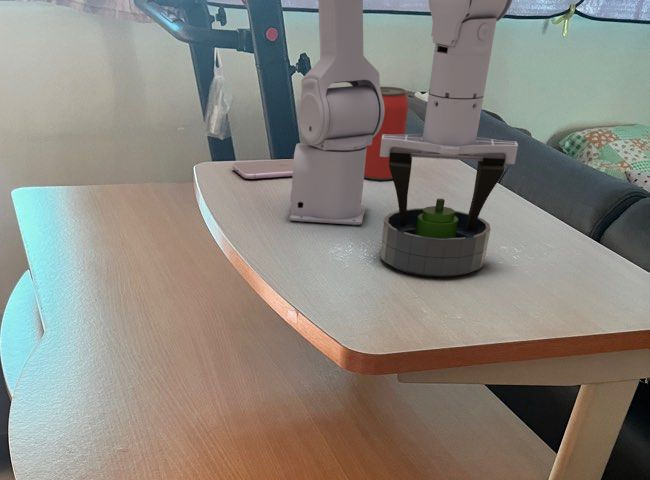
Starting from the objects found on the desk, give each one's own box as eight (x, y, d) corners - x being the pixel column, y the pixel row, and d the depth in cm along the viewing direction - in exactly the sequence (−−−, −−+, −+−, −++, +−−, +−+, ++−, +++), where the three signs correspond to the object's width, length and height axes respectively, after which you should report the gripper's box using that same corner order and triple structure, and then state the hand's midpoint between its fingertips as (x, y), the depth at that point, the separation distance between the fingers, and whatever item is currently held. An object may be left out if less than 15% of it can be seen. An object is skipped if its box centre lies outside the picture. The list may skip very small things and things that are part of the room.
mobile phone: (230, 161, 131) (318, 155, 135) (230, 168, 132) (317, 162, 135) (245, 173, 125) (336, 167, 129) (245, 180, 126) (336, 173, 130)
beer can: (358, 169, 133) (365, 85, 125) (399, 171, 132) (409, 86, 125) (356, 180, 127) (364, 92, 120) (400, 182, 127) (410, 94, 119)
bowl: (377, 275, 94) (382, 235, 91) (382, 242, 103) (386, 205, 101) (485, 283, 92) (493, 242, 90) (480, 249, 102) (487, 211, 99)
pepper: (412, 262, 96) (420, 203, 92) (412, 250, 100) (420, 192, 96) (452, 265, 95) (462, 206, 91) (451, 253, 99) (460, 195, 95)
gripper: (385, 97, 85) (370, 232, 93) (530, 104, 83) (502, 241, 91) (387, 86, 91) (374, 214, 99) (524, 92, 89) (498, 222, 97)
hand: (435, 226), depth 95 cm, fingers open, 7 cm apart
